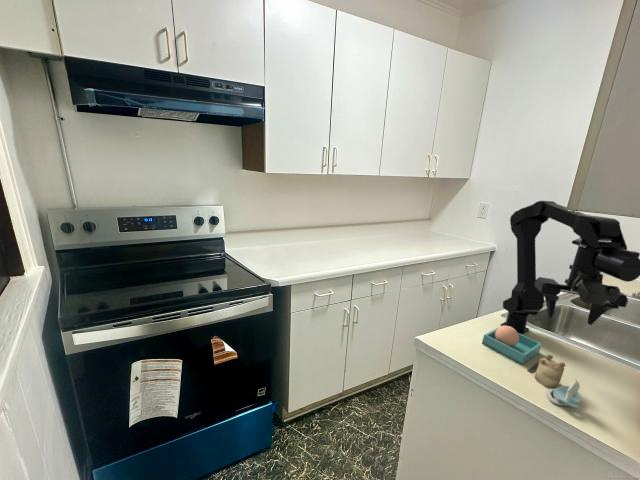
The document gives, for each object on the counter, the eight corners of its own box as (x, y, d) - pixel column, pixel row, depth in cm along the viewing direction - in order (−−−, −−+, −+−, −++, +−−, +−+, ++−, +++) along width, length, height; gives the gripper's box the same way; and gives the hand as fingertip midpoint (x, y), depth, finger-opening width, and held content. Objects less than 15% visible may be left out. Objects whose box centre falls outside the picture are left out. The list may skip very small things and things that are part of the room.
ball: (499, 325, 98) (497, 320, 93) (522, 333, 94) (521, 327, 89) (493, 344, 96) (491, 339, 92) (516, 352, 92) (514, 348, 88)
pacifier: (542, 400, 73) (574, 416, 69) (548, 377, 72) (582, 392, 68) (549, 386, 78) (580, 400, 74) (555, 364, 77) (587, 377, 73)
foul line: (548, 355, 91) (548, 354, 91) (552, 356, 91) (552, 356, 91) (527, 370, 83) (527, 370, 83) (531, 373, 83) (531, 372, 83)
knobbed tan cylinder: (539, 372, 83) (545, 352, 82) (561, 383, 79) (568, 363, 78) (531, 378, 80) (537, 358, 79) (553, 391, 77) (560, 370, 75)
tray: (500, 333, 101) (502, 325, 100) (539, 352, 92) (542, 343, 91) (481, 343, 94) (484, 334, 94) (521, 365, 86) (524, 355, 85)
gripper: (558, 269, 75) (541, 327, 80) (654, 284, 71) (630, 344, 75) (541, 256, 86) (526, 308, 90) (623, 268, 81) (603, 322, 85)
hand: (569, 320), depth 85 cm, fingers open, 9 cm apart
